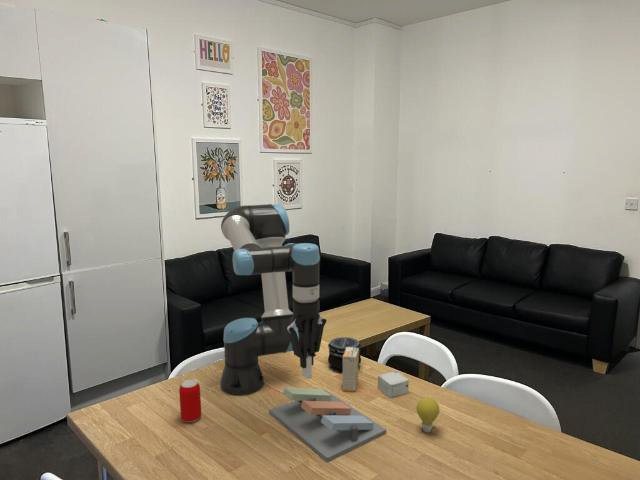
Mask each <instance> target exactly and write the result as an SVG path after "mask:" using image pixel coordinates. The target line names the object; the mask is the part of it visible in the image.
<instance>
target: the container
mask: <svg viewBox="0 0 640 480" xmlns="http://www.w3.org/2000/svg"><path fill="white" fill-rule="evenodd" d="M327 346H328V353H329V354H328V358H327V362H328V364H329V367H330V369H331V370H333V371H335V372H337V373H341V374H343V354H344V352H345V349H346V347H353V348H359V360H358V362H359V363H358V369H360V364H361V361H362V358H361V357H362V356H361V354H360V353H361V348H362V344H361V343H360V341H359V340H358V339H356V338H354V337H348V336H342V337H336V338H333V339H331V340H330V341H329V343H328V345H327Z"/></svg>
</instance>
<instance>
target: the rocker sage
mask: <svg viewBox="0 0 640 480" xmlns="http://www.w3.org/2000/svg"><path fill="white" fill-rule="evenodd" d="M326 391H327V390H326ZM326 391H324V389H323V388H322V389H320V388H301V387H300V388H299V387H298V388H297V387H284V388H283V392H282V395H283V396H284V397H286V398H287V399H289V400H290V401H295V400H299V401H310V399H311V398H314V397H315V398H316V401H330V400H331V396H332V395H330V394H329V393H330V392H329V393H327V392H326Z"/></svg>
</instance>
